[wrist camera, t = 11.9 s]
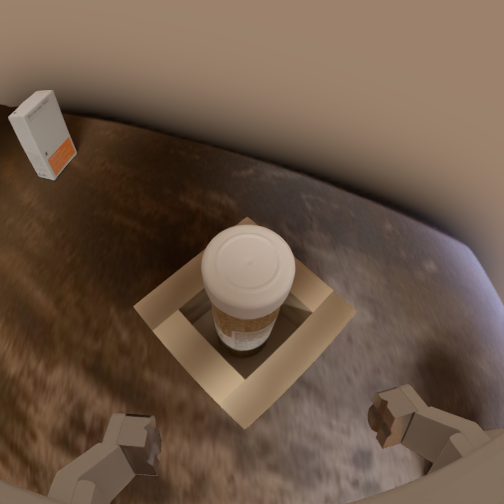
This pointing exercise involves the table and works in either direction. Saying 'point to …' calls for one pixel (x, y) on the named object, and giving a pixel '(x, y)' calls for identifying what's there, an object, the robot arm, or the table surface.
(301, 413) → the table surface
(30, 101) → the skincare box
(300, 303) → the socket block
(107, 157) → the table surface
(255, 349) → the sprinkles bottle
